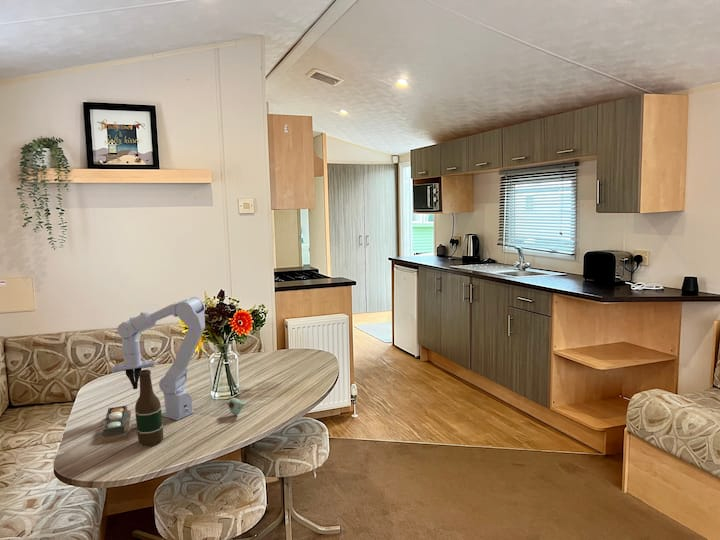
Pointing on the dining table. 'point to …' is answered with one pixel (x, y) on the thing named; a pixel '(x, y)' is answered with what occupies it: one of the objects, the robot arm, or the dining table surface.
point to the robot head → (235, 405)
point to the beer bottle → (148, 413)
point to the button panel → (118, 431)
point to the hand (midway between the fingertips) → (135, 388)
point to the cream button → (115, 416)
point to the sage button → (113, 424)
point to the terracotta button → (117, 410)
